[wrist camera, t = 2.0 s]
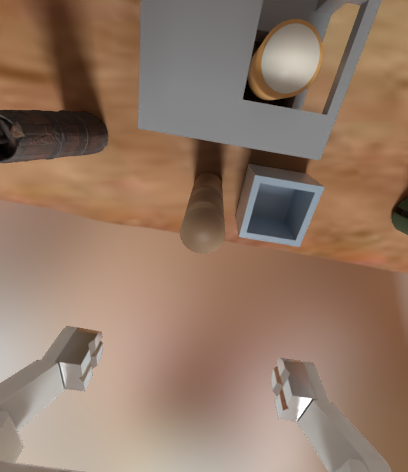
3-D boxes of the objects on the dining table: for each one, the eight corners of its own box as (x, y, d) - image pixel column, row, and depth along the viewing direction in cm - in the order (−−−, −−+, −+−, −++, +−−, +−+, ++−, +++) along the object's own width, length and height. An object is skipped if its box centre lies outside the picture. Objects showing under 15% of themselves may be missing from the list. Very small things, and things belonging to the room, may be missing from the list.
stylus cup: (235, 216, 36) (238, 236, 30) (248, 163, 32) (255, 175, 27) (286, 225, 36) (299, 246, 31) (305, 173, 32) (324, 187, 27)
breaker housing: (167, 121, 30) (138, 128, 19) (178, -19, 24) (143, -135, 13) (281, 141, 31) (319, 160, 19) (320, 9, 24) (411, -78, 13)
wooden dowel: (192, 196, 35) (177, 249, 22) (196, 169, 33) (182, 210, 20) (218, 200, 35) (220, 256, 22) (224, 174, 33) (229, 217, 20)
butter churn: (124, 87, 29) (-424, -38, 4) (133, 167, 33) (-102, 332, 9) (51, 85, 29) (-884, -47, 4) (69, 164, 33) (-336, 317, 9)
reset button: (242, 95, 25) (250, 91, 19) (254, 37, 23) (268, 11, 17) (287, 104, 26) (309, 102, 20) (303, 47, 23) (334, 25, 17)
